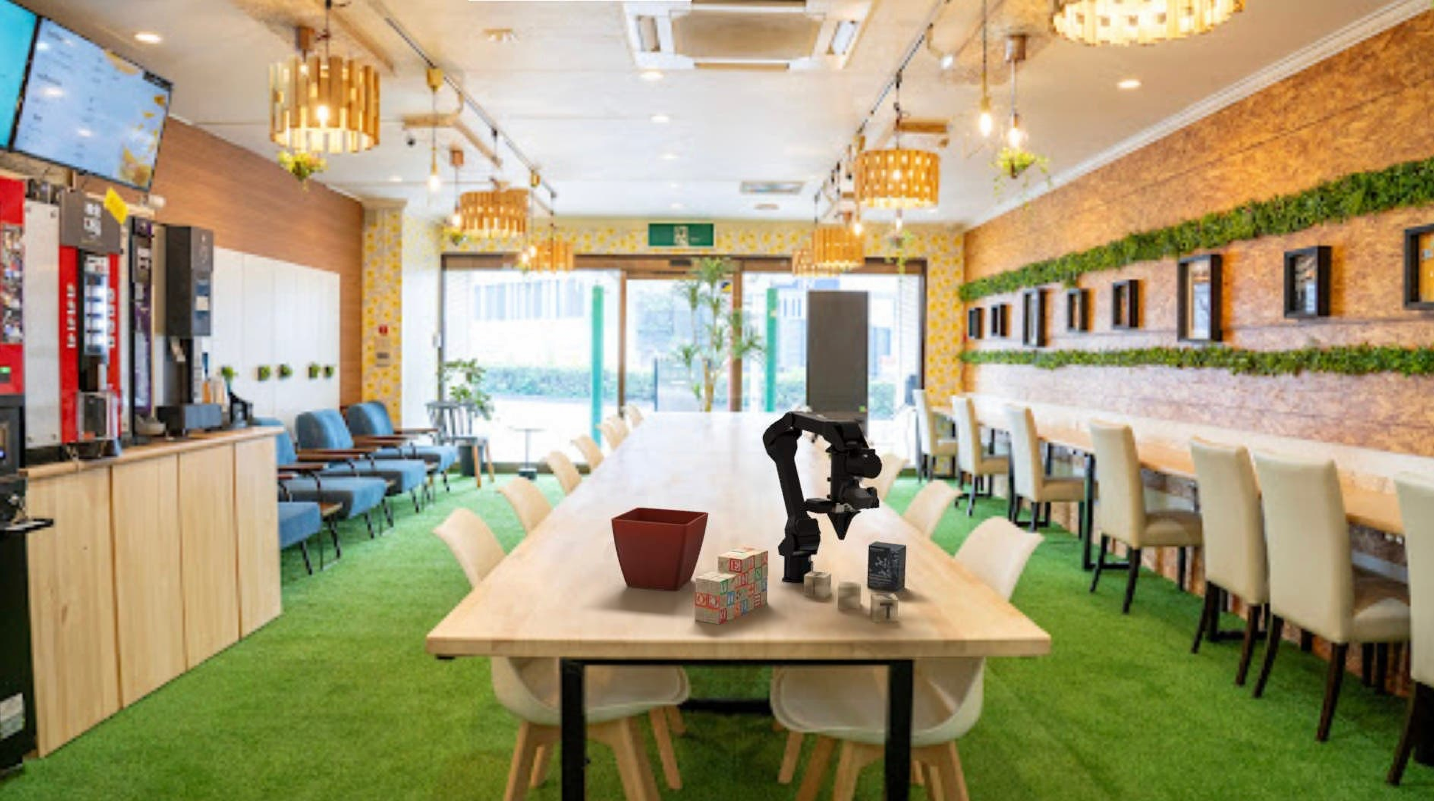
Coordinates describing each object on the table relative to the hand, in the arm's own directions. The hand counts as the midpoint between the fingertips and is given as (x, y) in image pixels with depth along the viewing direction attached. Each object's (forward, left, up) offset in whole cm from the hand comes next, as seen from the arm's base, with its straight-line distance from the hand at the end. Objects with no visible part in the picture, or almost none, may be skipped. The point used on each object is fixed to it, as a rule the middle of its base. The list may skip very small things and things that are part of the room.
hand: (841, 539), depth 224 cm
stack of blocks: (-19, -23, -13) cm, 33 cm away
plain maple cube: (+4, -9, -13) cm, 16 cm away
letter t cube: (+13, -16, -13) cm, 24 cm away
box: (+9, +11, -13) cm, 19 cm away
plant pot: (-43, -7, -13) cm, 46 cm away
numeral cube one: (-5, -2, -13) cm, 14 cm away
